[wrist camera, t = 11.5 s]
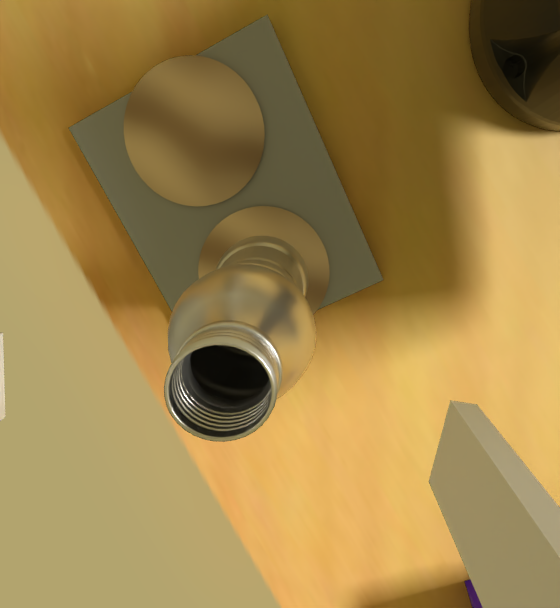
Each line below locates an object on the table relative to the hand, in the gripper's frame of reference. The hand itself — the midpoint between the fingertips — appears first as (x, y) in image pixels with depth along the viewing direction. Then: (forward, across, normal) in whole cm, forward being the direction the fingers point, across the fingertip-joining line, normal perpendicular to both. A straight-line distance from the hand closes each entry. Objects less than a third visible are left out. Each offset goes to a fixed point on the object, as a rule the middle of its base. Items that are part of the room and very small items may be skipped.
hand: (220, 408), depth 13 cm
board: (+23, -4, +4) cm, 24 cm away
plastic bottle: (+21, 0, 0) cm, 21 cm away
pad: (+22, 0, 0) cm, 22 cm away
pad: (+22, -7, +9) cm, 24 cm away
